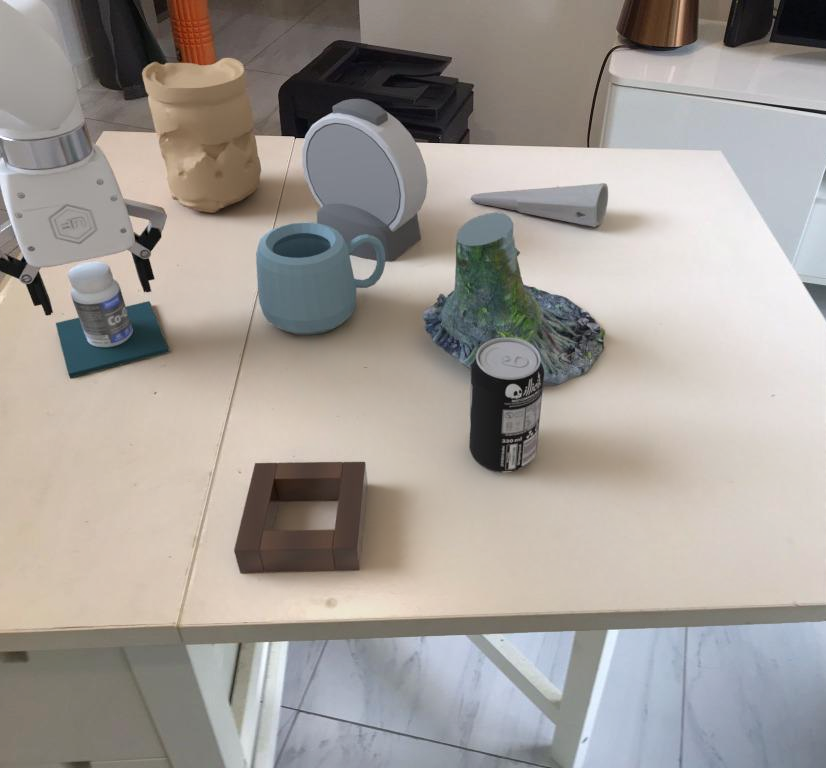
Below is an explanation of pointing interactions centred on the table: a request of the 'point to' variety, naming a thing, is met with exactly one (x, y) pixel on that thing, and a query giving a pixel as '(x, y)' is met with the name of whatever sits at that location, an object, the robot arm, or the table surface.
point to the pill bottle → (99, 304)
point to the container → (204, 131)
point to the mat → (137, 347)
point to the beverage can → (505, 404)
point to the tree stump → (509, 306)
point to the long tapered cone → (554, 202)
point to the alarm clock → (366, 176)
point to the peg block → (302, 547)
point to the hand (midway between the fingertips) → (97, 296)
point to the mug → (310, 277)
